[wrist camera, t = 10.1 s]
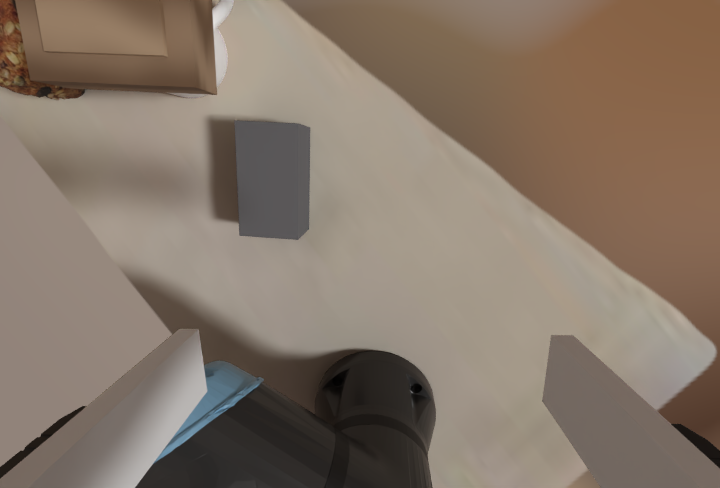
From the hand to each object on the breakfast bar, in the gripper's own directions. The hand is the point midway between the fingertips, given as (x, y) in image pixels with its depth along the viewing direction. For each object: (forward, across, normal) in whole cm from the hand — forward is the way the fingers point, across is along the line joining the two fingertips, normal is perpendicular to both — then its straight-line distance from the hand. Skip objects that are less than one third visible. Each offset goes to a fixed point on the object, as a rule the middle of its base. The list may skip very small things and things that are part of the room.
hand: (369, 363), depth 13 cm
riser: (+26, +10, -6) cm, 29 cm away
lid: (+16, +18, -19) cm, 30 cm away
